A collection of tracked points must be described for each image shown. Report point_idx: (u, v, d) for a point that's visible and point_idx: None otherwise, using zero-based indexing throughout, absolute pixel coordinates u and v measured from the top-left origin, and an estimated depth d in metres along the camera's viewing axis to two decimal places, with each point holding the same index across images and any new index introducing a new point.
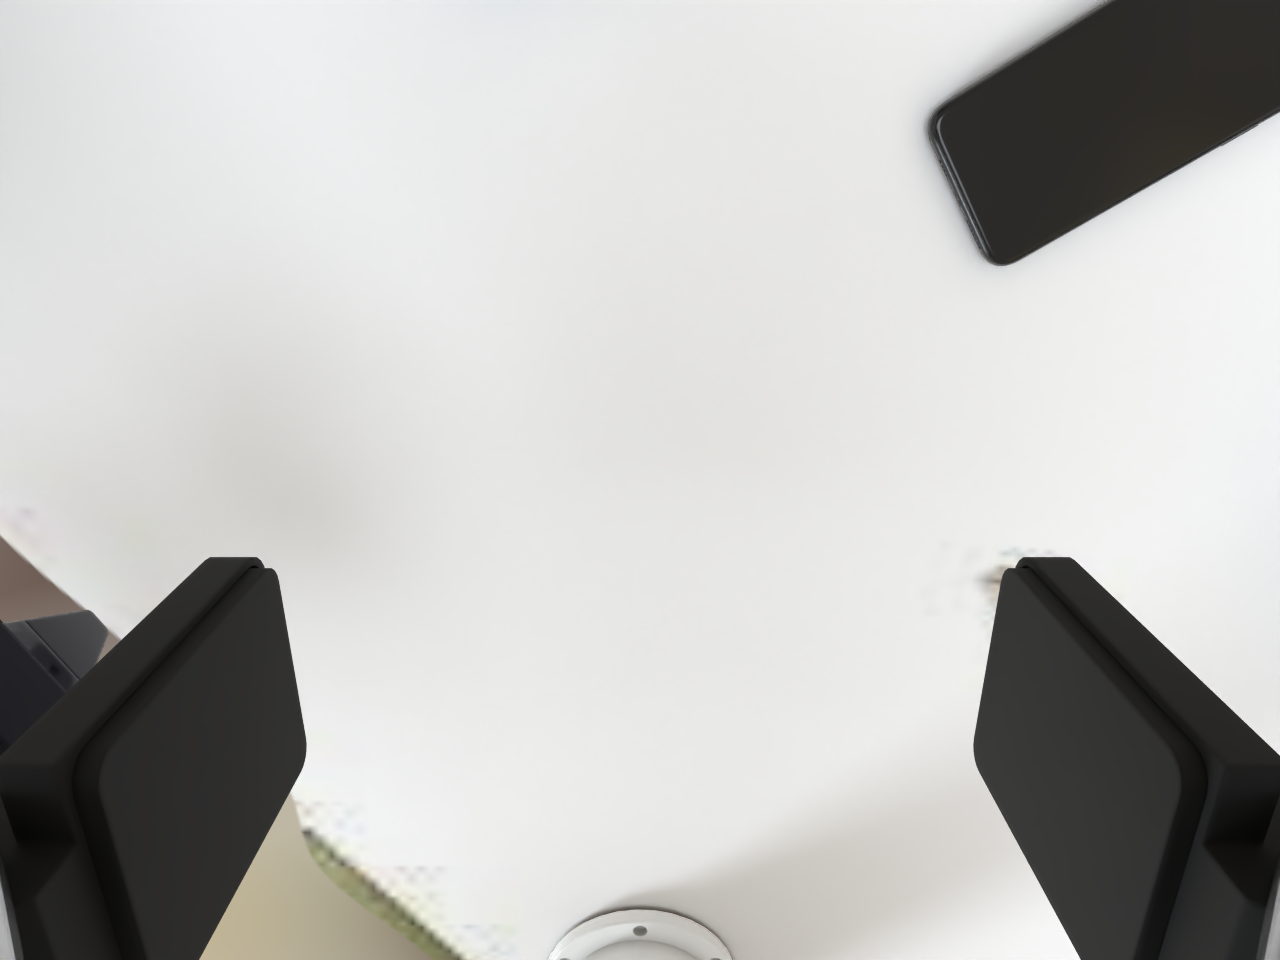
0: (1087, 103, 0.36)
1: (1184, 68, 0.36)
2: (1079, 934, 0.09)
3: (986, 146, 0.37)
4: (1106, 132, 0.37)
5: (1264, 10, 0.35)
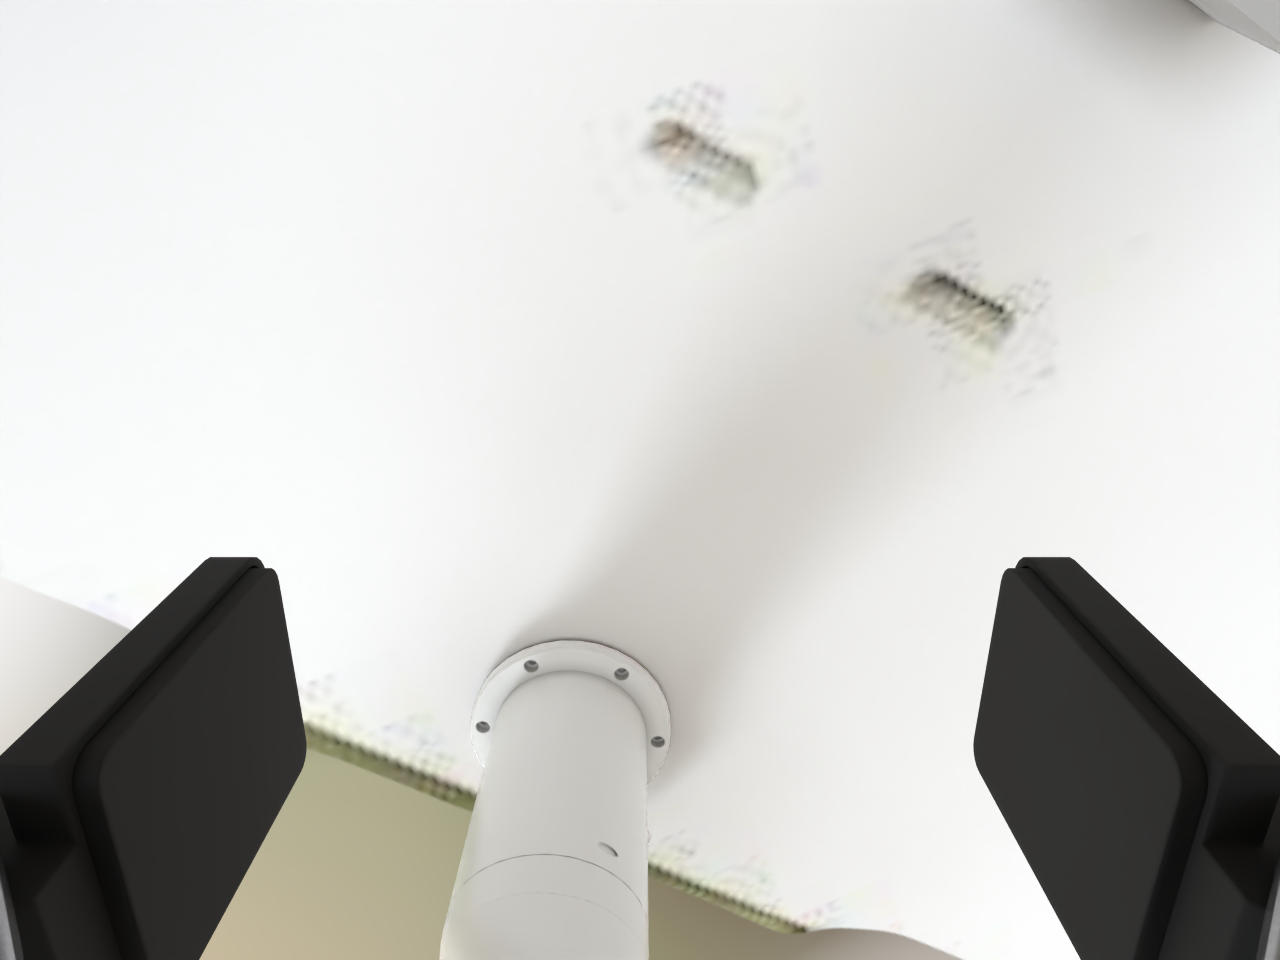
0: None
1: None
2: (1080, 934, 0.09)
3: None
4: None
5: None
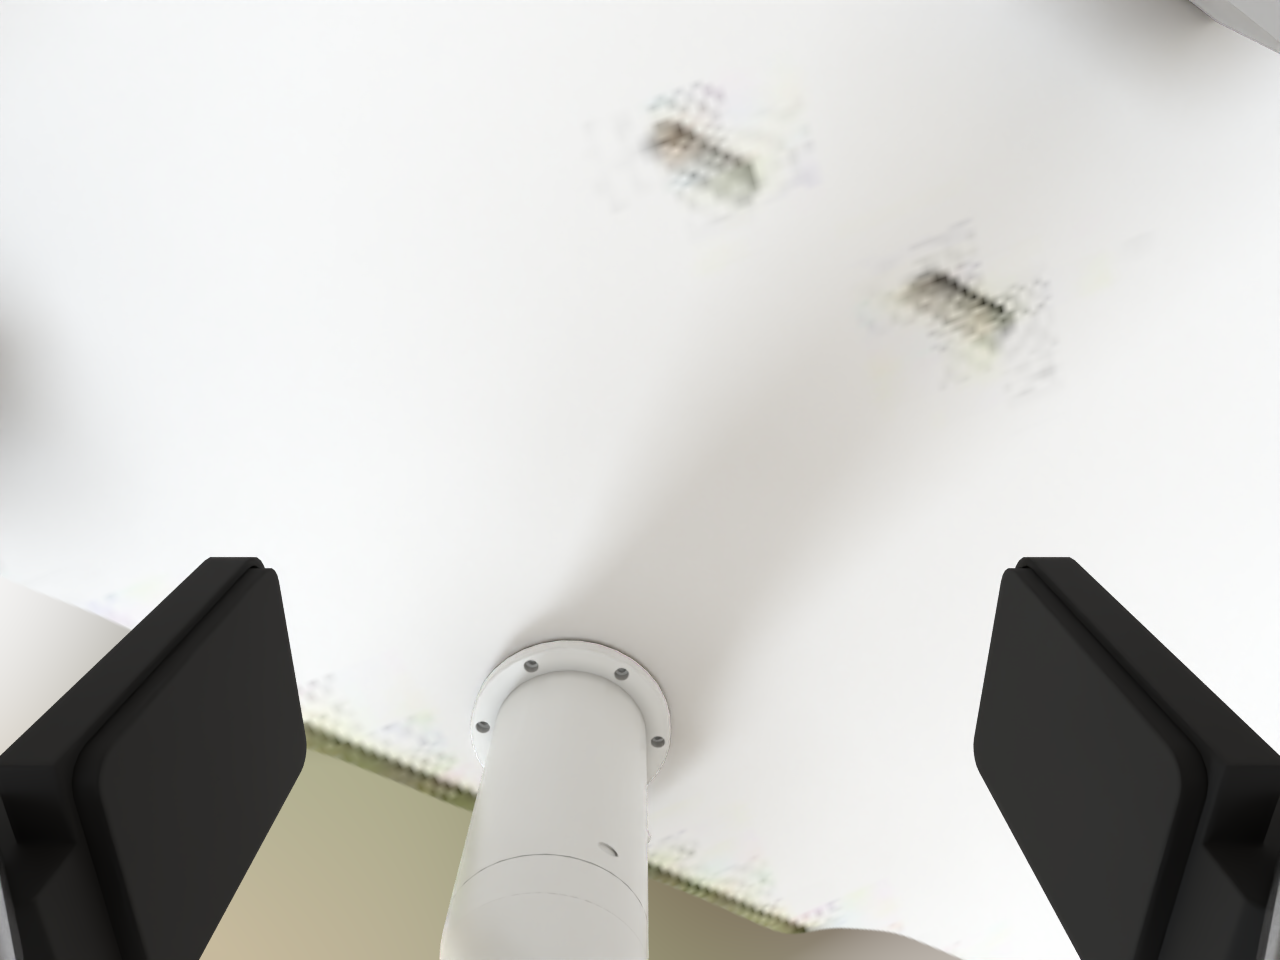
0: None
1: None
2: (1080, 934, 0.09)
3: None
4: None
5: None
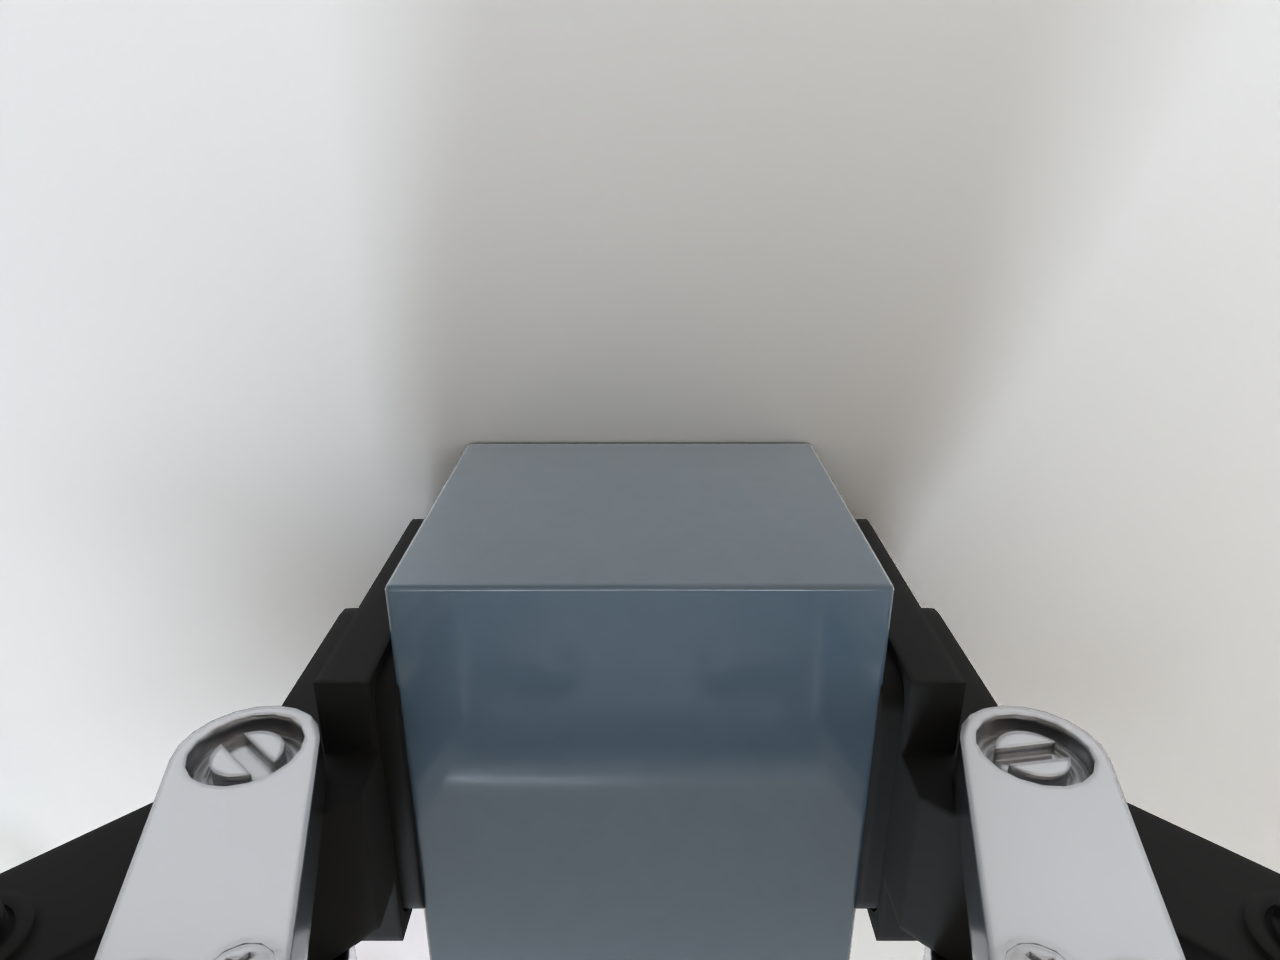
0: None
1: None
2: None
3: None
4: None
5: None
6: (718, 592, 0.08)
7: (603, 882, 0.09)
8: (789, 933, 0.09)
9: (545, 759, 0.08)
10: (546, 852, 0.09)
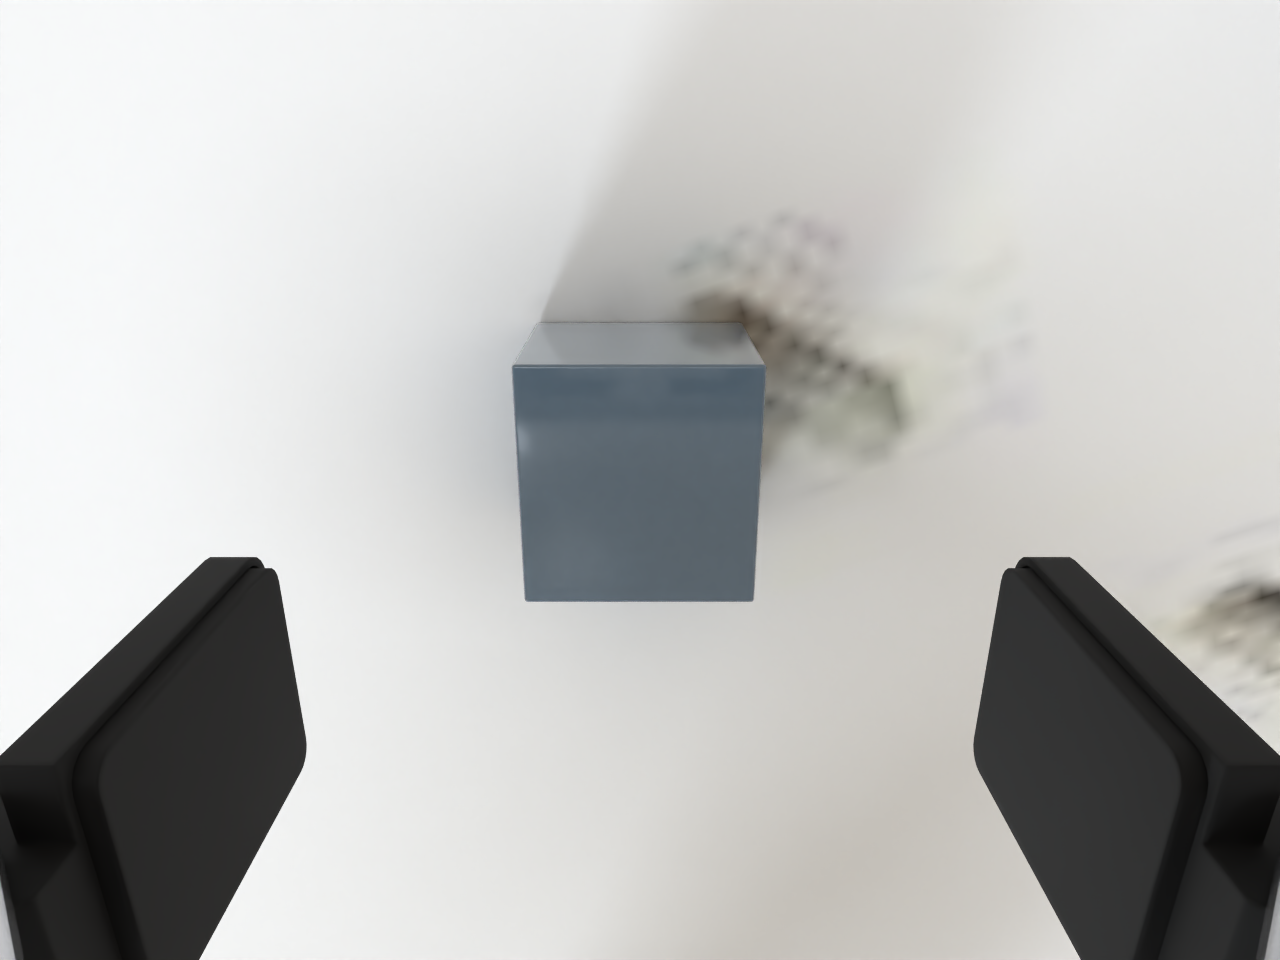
0: None
1: None
2: (1080, 933, 0.09)
3: None
4: None
5: None
6: (678, 368, 0.16)
7: (619, 540, 0.17)
8: (720, 573, 0.17)
9: (589, 464, 0.16)
10: (590, 520, 0.17)
